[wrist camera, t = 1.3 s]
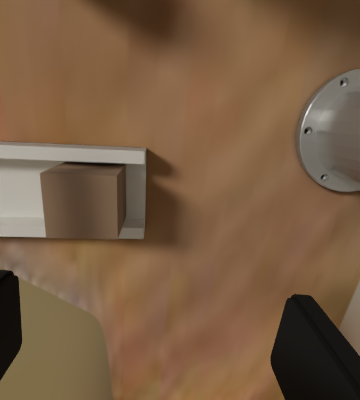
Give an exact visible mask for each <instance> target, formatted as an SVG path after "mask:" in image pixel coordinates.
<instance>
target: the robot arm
mask: <svg viewBox="0 0 360 400" xmlns="http://www.w3.org/2000/svg"><path fill="white" fill-rule="evenodd" d="M340 82H341V84H340ZM305 129H306V132H305V133H304V130H305ZM296 149H297V155H298V158H299V161H300V164H301V166H302V168H303V169H304V171H305V172H306V174H307V175H308V176H309V177H310V178H311V179H312V180H313V181H315V182H316V183H318V184H319V185H321V186H323V187H326V188H328V189H331V190H335V191H339V192H353V191H360V68H359V69H355V70H351V71H348V72H345V73H342V74H339V75H338V76H336V77H334V78H332V79H331V80H329V81H328V82H326V83H325V84H324V85H323V86H322V87H320V88H319V89H318V90H317V91H316V93H315V94H314V95H313V96H312V97H311V99H310V100H309V102H308V103H307V105H306V107H305V108H304V110H303V112H302V115H301V117H300V120H299V123H298V128H297V132H296ZM21 344H22V330H21V312H20V296H19V280H18V277H17V276H14V273H13V272H12V271H8V270H0V380H1V379H2V377H3V375H4V374H5V372H6V371H7V369H8V368H9V366H10V364H11V363H12V361H13V360H14V358H15V357H16V355H17V354H18V352H19V350H20V347H21ZM271 366H272V369H273V371H274V374H275V376H276V379H277V381H278V384H279V386H280V388H281V391H282V393H283V396H284V398H285V400H360V356H359V355H358V354H357V352H356V351H355V350H354V349H353V347H352V346H351V345H350V344H349V342H348V341H347V340H346V339H345V338H344V336H343V335H342V334H341V332H340V331H339V330H338V329H337V327H336V326H335V325H334V324H333V322H332V321H331V320H330V319H329V317H328V316H327V315H326V314H325V312H324V311H323V310H322V309H321V307H320V306H319V305H318V304H317V302H316V301H315V300H314V299H313V297H311V296H309V295H299V294H294V295H292V296H291V298H288V299H287V301H286V304H285V307H284V311H283V314H282V318H281V321H280V325H279V329H278V332H277V336H276V339H275V343H274V346H273V350H272V353H271Z"/></svg>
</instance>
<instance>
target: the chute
mask: <svg viewBox="0 0 360 400" xmlns="http://www.w3.org/2000/svg"><path fill="white" fill-rule="evenodd" d="M64 162H84V163H109V164H126V218H125V221H124V224H123V226H122V229H121V232H120V235H119V237H118V239H144V232H145V208H146V148H138V147H116V146H94V145H72V144H50V143H28V142H6V141H0V236H4V237H46V232H45V222H44V212H43V202H42V192H41V182H40V173H41V172H43V171H46V170H48V169H50V168H53V167H55V166H57V165H59V164H62V163H64Z"/></svg>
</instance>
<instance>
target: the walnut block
mask: <svg viewBox="0 0 360 400" xmlns="http://www.w3.org/2000/svg"><path fill="white" fill-rule="evenodd" d="M40 182H41V192H42V202H43V212H44V222H45V232H46V238H68V239H118V237H119V235H120V232H121V229H122V226H123V224H124V221H125V218H126V164H109V163H84V162H64V163H62V164H59V165H57V166H55V167H53V168H50V169H48V170H46V171H43V172H41V173H40Z"/></svg>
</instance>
